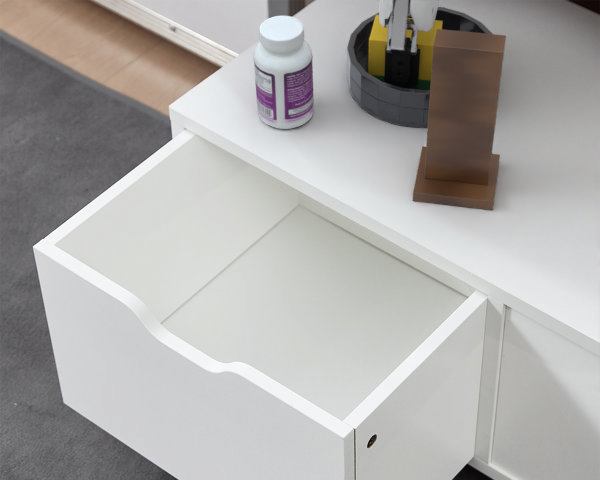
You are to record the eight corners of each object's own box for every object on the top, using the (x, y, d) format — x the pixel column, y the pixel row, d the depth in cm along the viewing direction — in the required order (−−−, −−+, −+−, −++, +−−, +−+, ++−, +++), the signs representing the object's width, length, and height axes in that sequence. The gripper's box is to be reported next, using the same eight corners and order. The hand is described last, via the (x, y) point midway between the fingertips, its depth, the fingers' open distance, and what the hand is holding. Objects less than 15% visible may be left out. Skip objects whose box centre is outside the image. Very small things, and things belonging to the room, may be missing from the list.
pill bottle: (314, 95, 118) (312, 10, 111) (313, 130, 114) (311, 44, 107) (258, 96, 118) (253, 10, 111) (255, 131, 114) (250, 44, 107)
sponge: (439, 65, 120) (442, 20, 116) (434, 91, 117) (437, 46, 113) (374, 59, 121) (375, 14, 117) (367, 84, 118) (368, 39, 114)
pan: (500, 46, 123) (504, 12, 120) (487, 135, 113) (491, 100, 110) (360, 33, 125) (360, -1, 122) (336, 119, 115) (336, 84, 112)
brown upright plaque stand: (499, 162, 111) (516, 21, 100) (492, 210, 106) (510, 68, 95) (421, 154, 112) (431, 13, 101) (412, 201, 107) (421, 59, 96)
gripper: (445, -52, 99) (432, 126, 112) (467, -151, 110) (453, 22, 123) (353, -60, 100) (351, 118, 113) (384, -157, 111) (379, 15, 125)
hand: (404, 66), depth 118 cm, fingers closed on sponge, 4 cm apart
